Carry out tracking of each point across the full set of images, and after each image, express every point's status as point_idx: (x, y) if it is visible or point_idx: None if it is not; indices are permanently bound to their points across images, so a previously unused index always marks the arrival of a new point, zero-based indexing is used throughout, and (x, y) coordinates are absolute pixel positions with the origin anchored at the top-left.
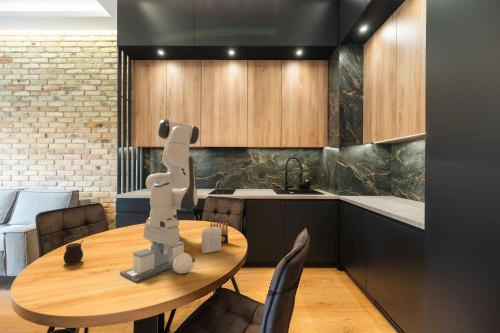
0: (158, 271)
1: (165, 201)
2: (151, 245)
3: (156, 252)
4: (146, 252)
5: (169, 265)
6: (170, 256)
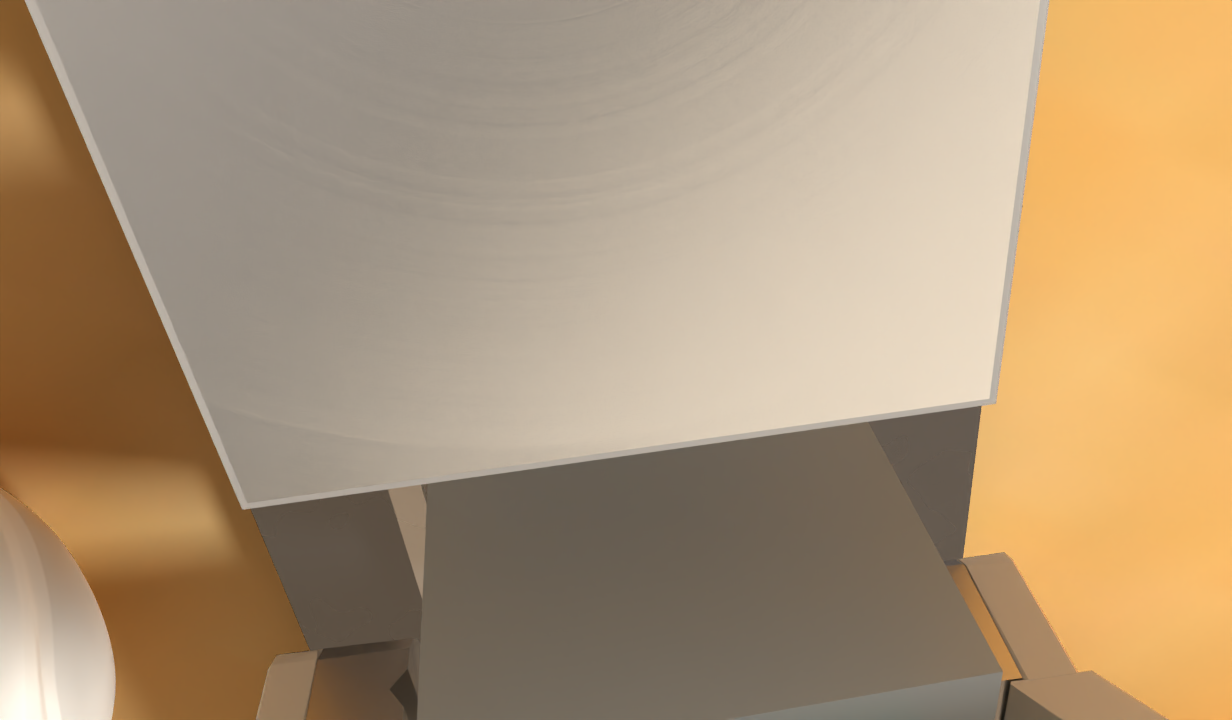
0: None
1: None
2: (974, 691)
3: (438, 536)
4: (302, 66)
5: (388, 497)
6: None
